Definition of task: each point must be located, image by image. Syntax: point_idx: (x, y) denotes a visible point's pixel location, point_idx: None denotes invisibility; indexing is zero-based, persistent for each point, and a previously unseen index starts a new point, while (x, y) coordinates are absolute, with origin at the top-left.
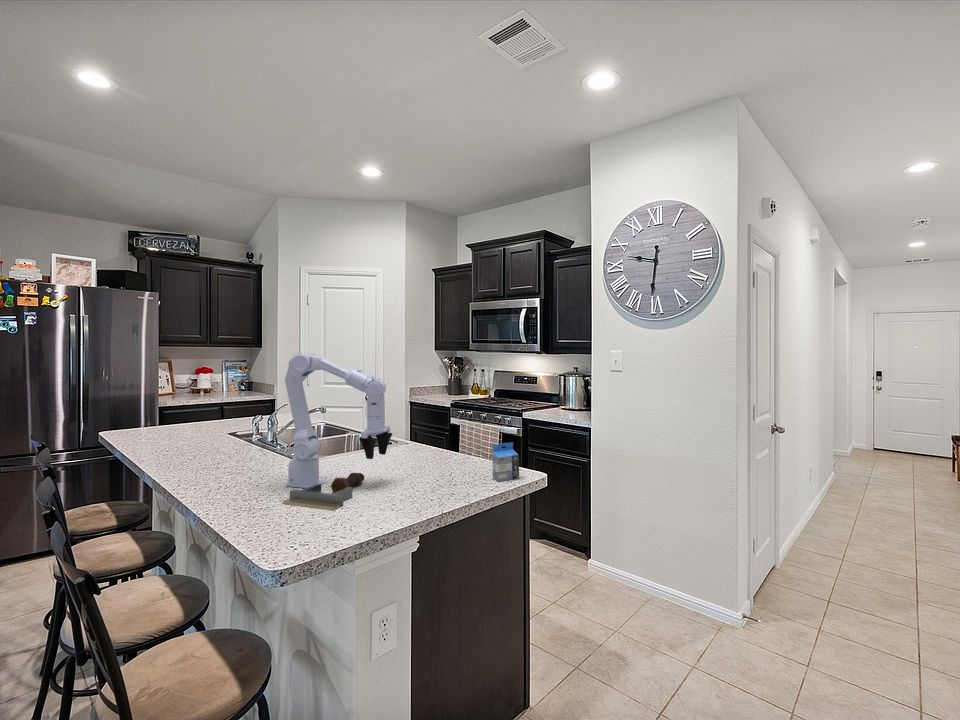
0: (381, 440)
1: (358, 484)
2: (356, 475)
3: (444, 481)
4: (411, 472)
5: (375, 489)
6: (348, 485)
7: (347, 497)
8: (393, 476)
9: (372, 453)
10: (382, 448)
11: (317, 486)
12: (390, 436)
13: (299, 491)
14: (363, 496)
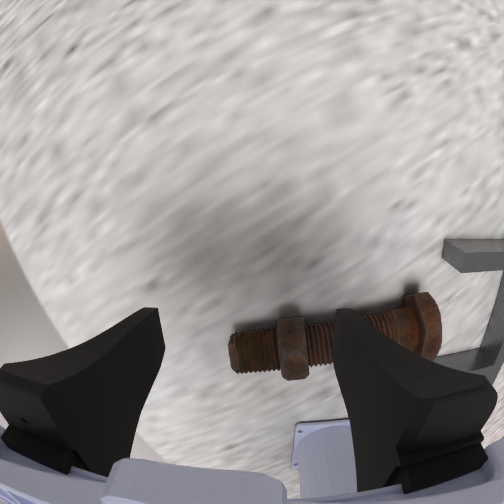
0: (117, 415)
1: (296, 317)
2: (307, 347)
3: (81, 16)
4: (22, 229)
5: (318, 214)
6: (419, 298)
7: (471, 241)
8: (94, 263)
9: (371, 325)
10: (142, 355)
11: None
12: (29, 368)
13: (498, 368)
14: (426, 203)
